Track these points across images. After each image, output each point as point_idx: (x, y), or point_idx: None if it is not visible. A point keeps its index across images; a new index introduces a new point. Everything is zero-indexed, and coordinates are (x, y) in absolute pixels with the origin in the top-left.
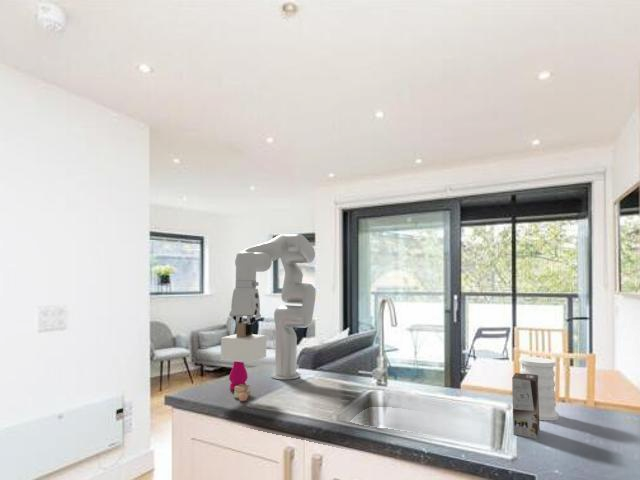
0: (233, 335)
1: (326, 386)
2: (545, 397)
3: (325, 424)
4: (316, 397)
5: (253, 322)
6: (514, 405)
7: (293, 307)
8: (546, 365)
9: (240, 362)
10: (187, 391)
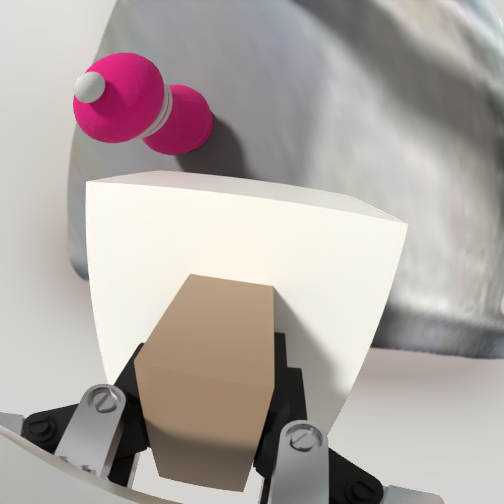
0: (117, 325)
1: (442, 48)
2: None
3: (465, 338)
4: (452, 162)
5: (328, 454)
6: None
7: None
8: None
9: (166, 124)
10: (75, 211)
